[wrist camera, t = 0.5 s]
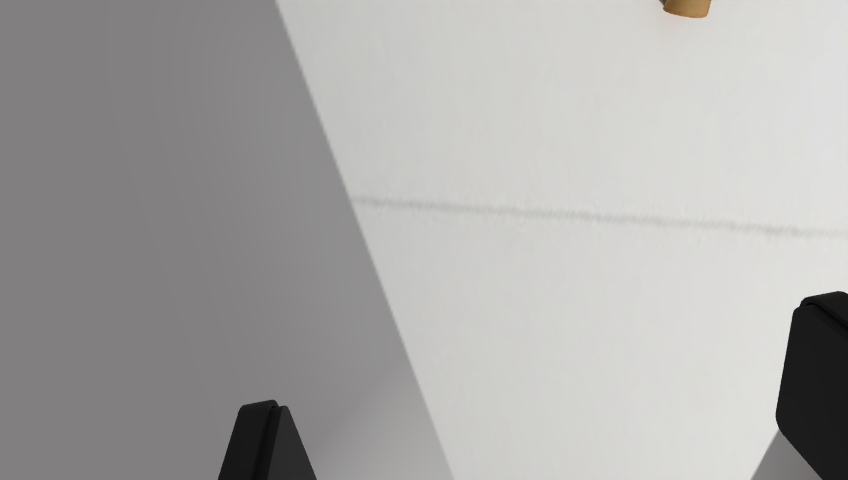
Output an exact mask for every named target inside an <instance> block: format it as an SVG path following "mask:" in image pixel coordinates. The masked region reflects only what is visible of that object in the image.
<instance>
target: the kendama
mask: <svg viewBox="0 0 848 480" xmlns="http://www.w3.org/2000/svg"><path fill="white" fill-rule="evenodd" d="M710 3H711V0H666V2H665V4H664V7H663V9H664V10H665V11H666V12H668V13H671V14H674V15H679V16H685V17H692V18H702V17H706V16H707V14H708V11H709V7H710Z"/></svg>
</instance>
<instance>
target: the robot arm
mask: <svg viewBox="0 0 848 480" xmlns="http://www.w3.org/2000/svg"><path fill="white" fill-rule="evenodd" d="M776 421H777V424H778V427H779V429H780V431H781V432H782V434H783V435H784V436H785V437H786V438H787V440H788V441H789V442H790V443H791V444H792V445H793V446H794V448H795V449H796V450H797V451H798V452H799V453H800V454H801V456H802V457H803V458H804V459H805V460H806V461H807V463H808V464H809V465H810V466H811V467H812V468H813V469H814V471H815V472H816V473H817V474H818V475H819V476H820V478H822V480H848V294H847V293H845V292H841V291H836V292H831V293H826V294H821V295H815V296H810V297H807V298H804V299H803V300H802V301H801V304H800V306H799V307H798V308H796V309H795V310H794V312H793V316H792V322H791V327H790V333H789V339H788V345H787V351H786V356H785V362H784V368H783V374H782V379H781V385H780V391H779V397H778V402H777V408H776ZM218 480H317V479H316V477H315V474H314V471H313V469H312V466H311V464H310V461H309V459H308V456H307V454H306V451H305V449H304V446H303V444H302V441H301V439H300V436H299V434H298V431H297V428H296V426H295V423H294V421H293V418H292V416H291V413H290V411H289V409H288V407H287V406H280V407H279V406H278V404H277V402H276V401H275V400H268V401H263V402H258V403H252V404H247V405H243V406H242V407H241V408H240V410H239V412H238V416H237V419H236V422H235V425H234V429H233V432H232V435H231V438H230V442H229V445H228V448H227V451H226V455H225V458H224V461H223V464H222V468H221V471H220V474H219V477H218Z"/></svg>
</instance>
